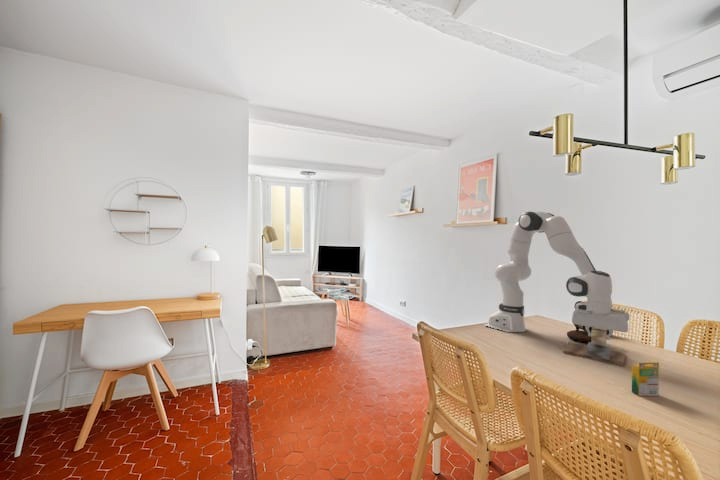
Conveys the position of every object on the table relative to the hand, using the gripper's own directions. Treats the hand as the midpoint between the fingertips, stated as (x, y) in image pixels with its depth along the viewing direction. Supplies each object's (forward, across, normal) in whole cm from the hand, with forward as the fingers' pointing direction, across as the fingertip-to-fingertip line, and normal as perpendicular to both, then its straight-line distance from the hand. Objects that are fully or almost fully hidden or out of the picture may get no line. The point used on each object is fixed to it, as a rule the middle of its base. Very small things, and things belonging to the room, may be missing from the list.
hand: (598, 337), depth 141 cm
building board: (+9, +2, -4) cm, 10 cm away
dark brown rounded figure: (+9, +8, -25) cm, 28 cm away
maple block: (+2, 0, 0) cm, 2 cm away
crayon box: (+9, -15, +30) cm, 35 cm away
